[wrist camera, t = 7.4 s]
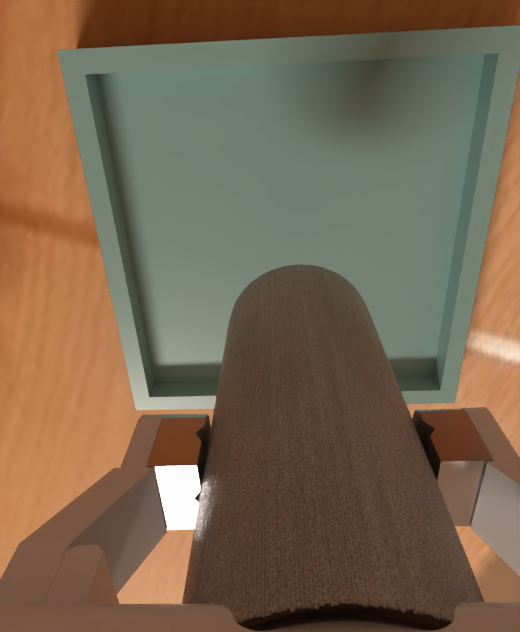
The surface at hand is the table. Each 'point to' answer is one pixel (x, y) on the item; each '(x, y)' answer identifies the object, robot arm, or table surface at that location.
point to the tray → (293, 188)
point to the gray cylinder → (319, 473)
